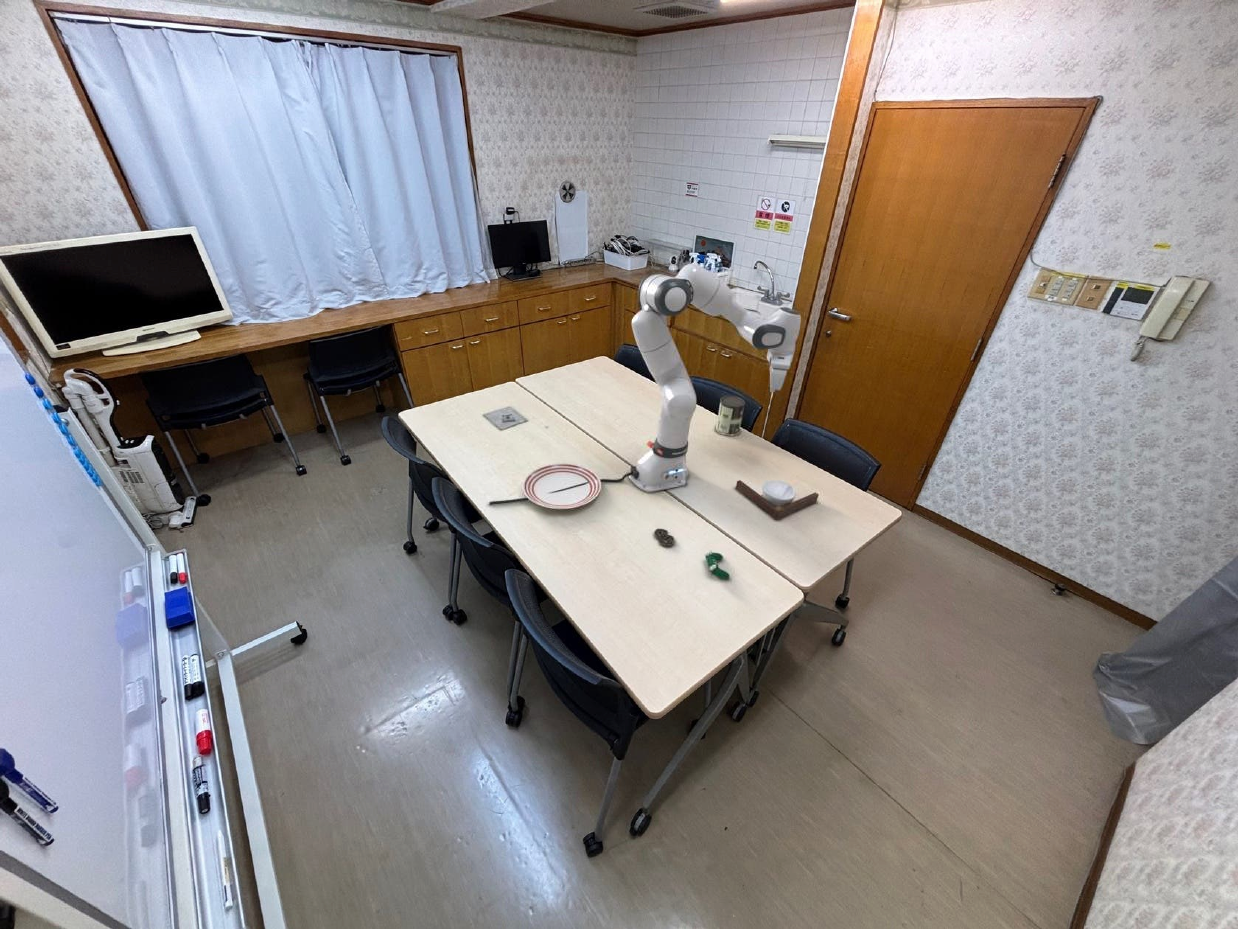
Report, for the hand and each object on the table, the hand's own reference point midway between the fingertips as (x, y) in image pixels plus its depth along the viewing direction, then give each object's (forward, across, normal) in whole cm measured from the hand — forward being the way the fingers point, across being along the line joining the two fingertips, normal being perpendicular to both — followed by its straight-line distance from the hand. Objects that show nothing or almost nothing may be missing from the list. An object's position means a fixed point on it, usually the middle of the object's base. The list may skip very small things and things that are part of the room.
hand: (772, 390), depth 183 cm
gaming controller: (+29, +66, -12) cm, 73 cm away
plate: (+29, +43, -67) cm, 85 cm away
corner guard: (+29, +24, +7) cm, 38 cm away
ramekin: (+29, +28, +7) cm, 41 cm away
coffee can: (+29, -18, -13) cm, 37 cm away
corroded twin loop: (+29, +58, -28) cm, 71 cm away
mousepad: (+29, +1, -103) cm, 107 cm away
